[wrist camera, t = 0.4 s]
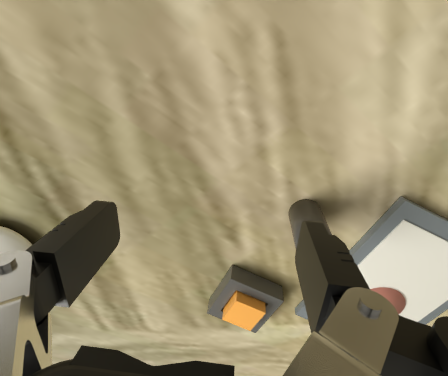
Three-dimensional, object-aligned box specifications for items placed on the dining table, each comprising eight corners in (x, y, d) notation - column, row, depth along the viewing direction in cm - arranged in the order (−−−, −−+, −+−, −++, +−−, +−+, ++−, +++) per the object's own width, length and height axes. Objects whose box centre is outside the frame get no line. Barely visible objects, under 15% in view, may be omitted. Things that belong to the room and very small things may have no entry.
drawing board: (401, 196, 29) (407, 202, 28) (511, 252, 31) (522, 260, 29) (294, 308, 39) (296, 316, 38) (383, 346, 40) (387, 355, 39)
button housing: (232, 264, 36) (230, 278, 34) (281, 286, 37) (283, 301, 35) (209, 298, 40) (207, 313, 37) (255, 317, 41) (255, 332, 38)
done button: (237, 288, 35) (236, 300, 34) (265, 300, 36) (265, 313, 34) (223, 307, 37) (222, 319, 36) (250, 318, 38) (250, 331, 36)
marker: (299, 193, 30) (323, 267, 19) (328, 207, 31) (368, 287, 20) (281, 218, 32) (295, 298, 21) (309, 231, 32) (336, 316, 22)
